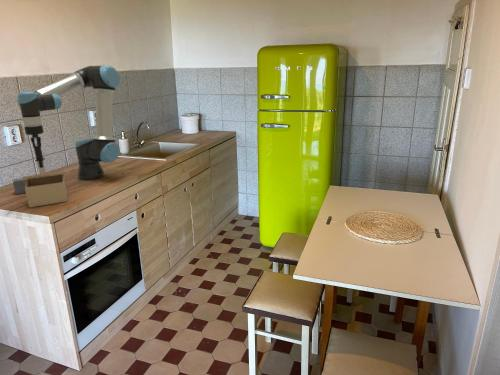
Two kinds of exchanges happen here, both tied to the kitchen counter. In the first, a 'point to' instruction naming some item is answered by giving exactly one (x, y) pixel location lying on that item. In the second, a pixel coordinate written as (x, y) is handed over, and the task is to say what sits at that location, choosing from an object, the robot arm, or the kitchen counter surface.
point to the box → (46, 190)
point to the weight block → (19, 185)
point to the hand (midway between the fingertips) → (42, 173)
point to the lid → (42, 175)
